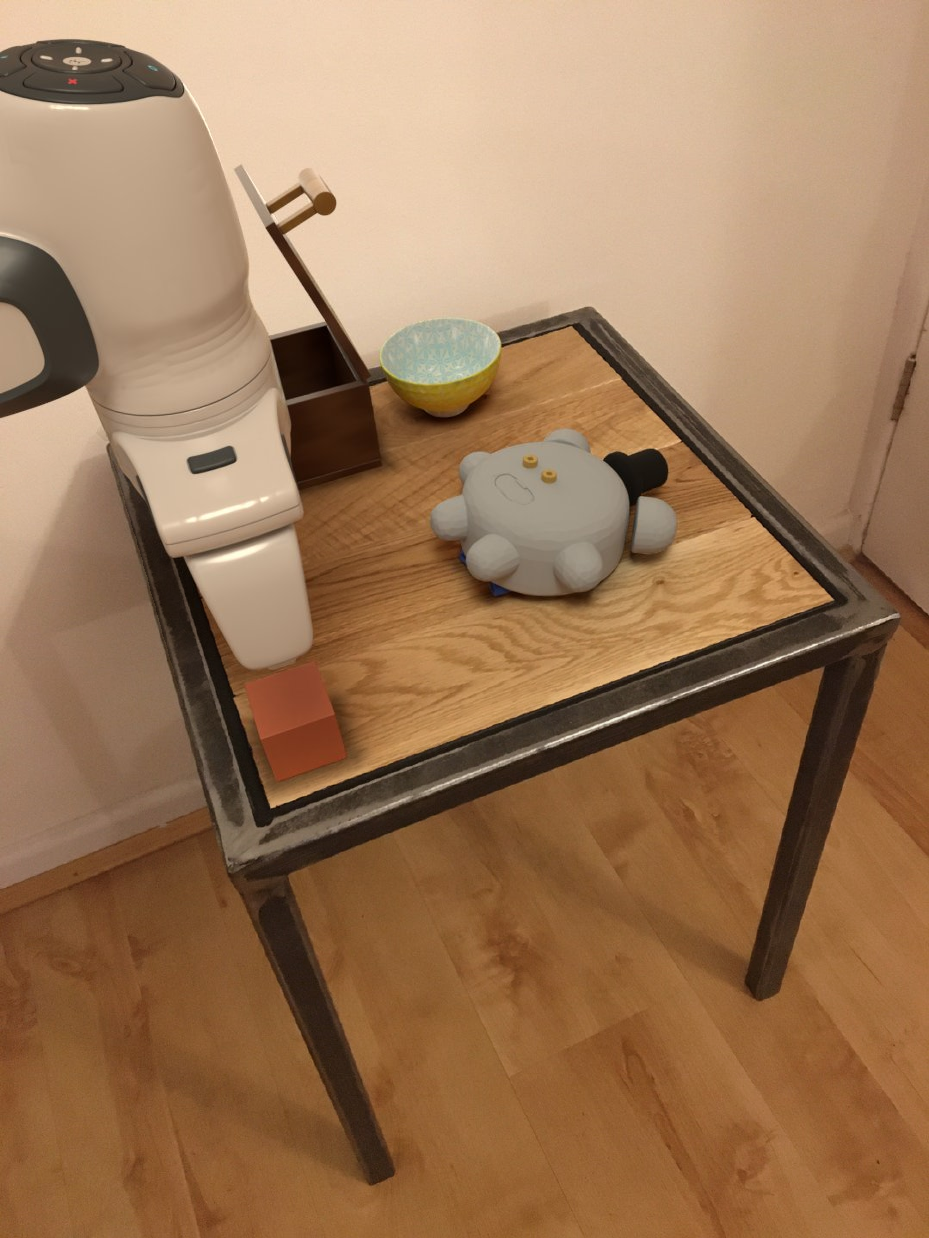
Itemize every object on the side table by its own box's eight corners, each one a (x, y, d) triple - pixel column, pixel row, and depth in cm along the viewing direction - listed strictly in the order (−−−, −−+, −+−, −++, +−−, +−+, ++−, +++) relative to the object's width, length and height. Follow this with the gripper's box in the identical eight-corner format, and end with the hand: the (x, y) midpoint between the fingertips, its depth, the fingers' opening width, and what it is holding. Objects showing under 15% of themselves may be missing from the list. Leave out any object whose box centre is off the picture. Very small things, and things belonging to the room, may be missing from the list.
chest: (225, 511, 84) (198, 429, 78) (202, 439, 92) (175, 359, 86) (382, 465, 87) (368, 383, 81) (347, 399, 95) (332, 319, 88)
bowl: (364, 403, 94) (354, 347, 90) (457, 358, 98) (452, 303, 94) (432, 456, 88) (425, 399, 83) (528, 405, 92) (526, 348, 87)
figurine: (511, 658, 70) (716, 568, 78) (518, 571, 64) (739, 482, 72) (397, 529, 81) (588, 461, 88) (394, 444, 75) (599, 379, 82)
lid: (265, 228, 69) (330, 185, 69) (233, 169, 76) (291, 130, 76) (364, 381, 81) (420, 345, 80) (327, 317, 88) (379, 284, 88)
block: (276, 782, 65) (260, 739, 61) (260, 727, 68) (243, 683, 64) (347, 757, 66) (335, 713, 62) (328, 704, 69) (315, 660, 65)
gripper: (108, 330, 54) (181, 516, 64) (164, 558, 40) (245, 747, 50) (219, 302, 55) (273, 489, 65) (308, 514, 41) (359, 708, 52)
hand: (262, 604), depth 58 cm, fingers open, 8 cm apart
